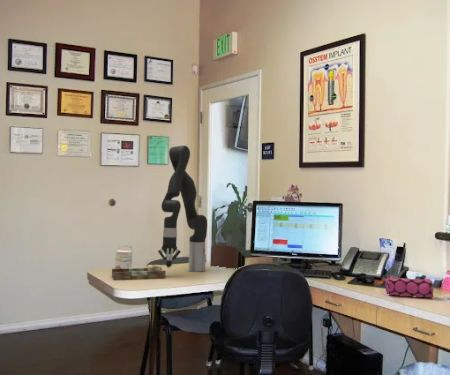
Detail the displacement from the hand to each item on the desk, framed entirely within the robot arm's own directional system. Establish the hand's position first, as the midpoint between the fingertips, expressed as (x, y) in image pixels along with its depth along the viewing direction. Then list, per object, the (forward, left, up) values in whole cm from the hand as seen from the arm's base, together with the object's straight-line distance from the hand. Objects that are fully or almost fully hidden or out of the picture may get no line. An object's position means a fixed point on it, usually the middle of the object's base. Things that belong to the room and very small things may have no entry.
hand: (168, 267), depth 271 cm
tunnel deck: (+17, 0, -5) cm, 17 cm away
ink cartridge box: (+22, -20, -5) cm, 30 cm away
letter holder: (-43, -24, -5) cm, 50 cm away
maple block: (+8, 0, -3) cm, 8 cm away
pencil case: (-101, +73, -5) cm, 125 cm away
